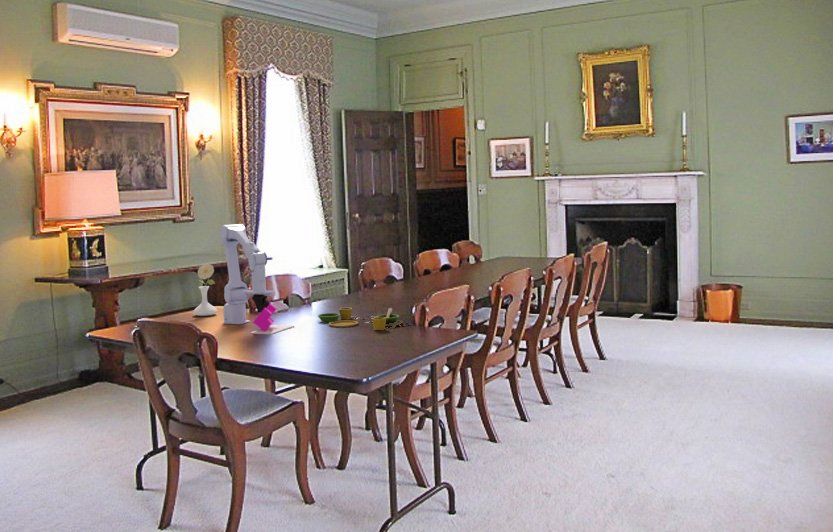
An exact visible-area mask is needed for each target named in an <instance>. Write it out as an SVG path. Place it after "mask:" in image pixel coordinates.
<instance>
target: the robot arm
mask: <svg viewBox="0 0 833 532" xmlns="http://www.w3.org/2000/svg"><path fill="white" fill-rule="evenodd" d="M246 232H247V229H246V227H245V225H244V224H243V223H238V224H222V226H221V228H220V231H219V236H220V241H221V244H222V245H223V246H224V250H225V256H226V264H227V273H228V279H229V282H228V283H227V284H226V285H225V286H224V293H223V297H224V300H225V302H226V303H225V304H224V305H223V309H222V310H223V313H222V314H223V322H222V324H227V325H242V324H247V323H249V322H251V320H248V319H247V311H246V303H247V302H248V300H249V299H250V296H251V300H252V301H253V302H254V304H255V306H256V310H257V313H259V314H260V313H261V312H262V310H263V309H264V308H265V307H264V306H265V302H266V301H267V298H268V297H275V296H276V291H275V290H268V289H267V285H266V284H267V282H266V278H267V277H266V265H267V263H268V255H267V253H266V251H262V250H260V249H259V248H258V247H257V244H255V242H254V241H250V238H248V235H247V233H246ZM239 244H240V245H241V246H242V251H243V253H244V254H245V255H246V257H247V258H248V259H247V260H248V264H249V269H250V271H251V289H250V290H249V288H248V286H247V284H246V283H245V282H244V281H242V279H241V278H242V277H241V270H240V263H239V262H240V261H239V256H238V249H237V246H238V245H239Z"/></svg>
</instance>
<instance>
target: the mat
mask: <svg viewBox="0 0 833 532" xmlns="http://www.w3.org/2000/svg"><path fill="white" fill-rule="evenodd" d="M294 327H295V325H286V324H285V325H284V324H271V325H270V326H269V328H268V329H267V330H266V331H265V332H264V331H263V330H262V329H261V328H259V329H257V330H253V331H251V332H250V334H252V335H253V334H256V335H267V336H268V335H275V334H277V333H280V332H284V331H286V330H288V329H292V328H294Z"/></svg>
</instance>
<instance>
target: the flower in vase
mask: <svg viewBox="0 0 833 532" xmlns="http://www.w3.org/2000/svg"><path fill="white" fill-rule="evenodd" d="M214 272H215V269H214V266H213V265H212V264H211V263H210V264H209V263H204V264H203V265H200V266H199V267H198V270H197V275H198V278H199V279H198V281H199V282H201V283H202V284H204V285H203V286H202V285H201V286H198V289H199V290H200V294H201V302H200V304H199V305H198V306H197V307H195V309H194V310H193V311H192V314H193V315H195V316H199V317H206V316H207V317H208V316H214V315H216V314H217V313H218V309H217V308H216V307H215V306H213V305H212V304H211V303H209V302H208V290H209V288H210V286H211V285H215V284H216V282H215V281H214V280H213V279H210V278H211V277H212V276H213V274H214ZM200 279H202V280H207V281H206V283H205V282H204V281H202V280H200ZM207 285H208V286H207ZM209 285H210V286H209Z"/></svg>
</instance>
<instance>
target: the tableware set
mask: <svg viewBox="0 0 833 532" xmlns="http://www.w3.org/2000/svg"><path fill="white" fill-rule="evenodd" d="M338 311H339V313H338V312H337V313H336V312H329V313H328V312H327V313H326V312H324V313H319V314H317V317H318V318H319V319H320V321H321V322H322V323H328V325H329V326H330V327H332V328H350V327H355V326H357V325H359V321H356V320H357V319H358V318H359V317H357V318H356V319H355V320H351V319H352V318H351V317H353V316H352V313H353V308H352V307H340V308H339V309H338ZM392 312H393V308H392V307H390V308H388V310H387V313H385V314H378V315H376V316H373V317H374V318H371V321H372V322H373V323H372V326H373V327H372V328H373V331H374V330H383V331H385V330H386V327H385V326H393V325H398V324H401V323H402V324H403V320H399V318H400V315H399V314H395V313H394V314H392ZM339 318H340V320H339ZM396 321H398V322H400V323H397V324H389V323H394V322H396ZM369 322H370V321H365V322H364V324H370V323H369ZM386 324H388V325H386ZM402 324H401V325H402ZM384 329H385V330H384Z"/></svg>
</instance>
